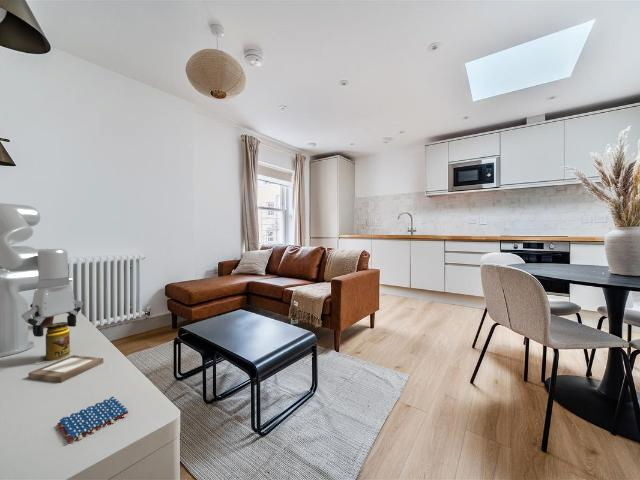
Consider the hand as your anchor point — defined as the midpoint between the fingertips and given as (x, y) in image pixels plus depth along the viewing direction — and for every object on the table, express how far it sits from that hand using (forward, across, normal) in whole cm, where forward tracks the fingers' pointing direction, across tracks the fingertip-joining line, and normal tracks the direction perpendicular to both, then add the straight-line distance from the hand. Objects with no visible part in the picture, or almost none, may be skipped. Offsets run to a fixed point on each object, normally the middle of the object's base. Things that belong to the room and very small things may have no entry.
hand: (56, 331), depth 91 cm
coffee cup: (+8, -24, -46) cm, 53 cm away
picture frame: (+10, +6, +14) cm, 18 cm away
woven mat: (+12, +23, +47) cm, 53 cm away
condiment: (+10, 0, -1) cm, 10 cm away
